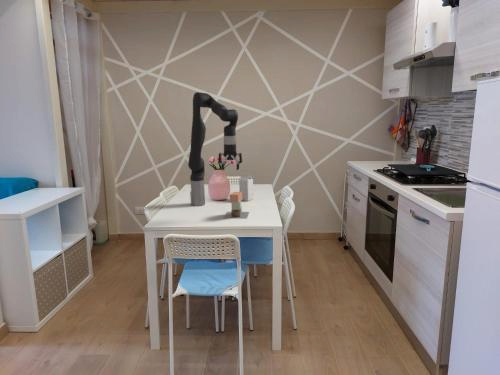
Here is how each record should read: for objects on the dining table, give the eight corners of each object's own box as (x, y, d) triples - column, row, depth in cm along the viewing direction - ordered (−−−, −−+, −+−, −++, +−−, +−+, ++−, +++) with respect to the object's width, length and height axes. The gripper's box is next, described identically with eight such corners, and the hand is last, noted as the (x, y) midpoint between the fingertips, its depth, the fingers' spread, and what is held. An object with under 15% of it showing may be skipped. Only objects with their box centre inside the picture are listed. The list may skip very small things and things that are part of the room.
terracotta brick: (230, 201, 215) (229, 194, 214) (234, 198, 222) (234, 191, 221) (238, 202, 213) (237, 194, 212) (242, 199, 221) (242, 191, 220)
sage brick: (231, 209, 215) (231, 202, 214) (233, 206, 223) (232, 198, 222) (240, 209, 215) (239, 202, 214) (241, 206, 223) (241, 198, 222)
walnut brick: (231, 216, 216) (231, 209, 215) (233, 213, 224) (233, 206, 223) (239, 216, 216) (239, 209, 215) (241, 213, 223) (241, 206, 222)
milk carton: (248, 201, 258) (247, 175, 254) (239, 200, 262) (238, 174, 258) (253, 199, 264) (252, 173, 260) (245, 198, 268) (244, 172, 264)
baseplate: (223, 220, 214) (223, 218, 214) (227, 214, 228) (227, 211, 227) (246, 221, 213) (246, 218, 212) (249, 214, 226) (249, 211, 226)
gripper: (217, 143, 216) (217, 170, 219) (240, 143, 214) (241, 171, 218) (219, 142, 223) (220, 168, 227) (242, 142, 222) (242, 169, 225)
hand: (230, 169), depth 222 cm, fingers open, 8 cm apart
